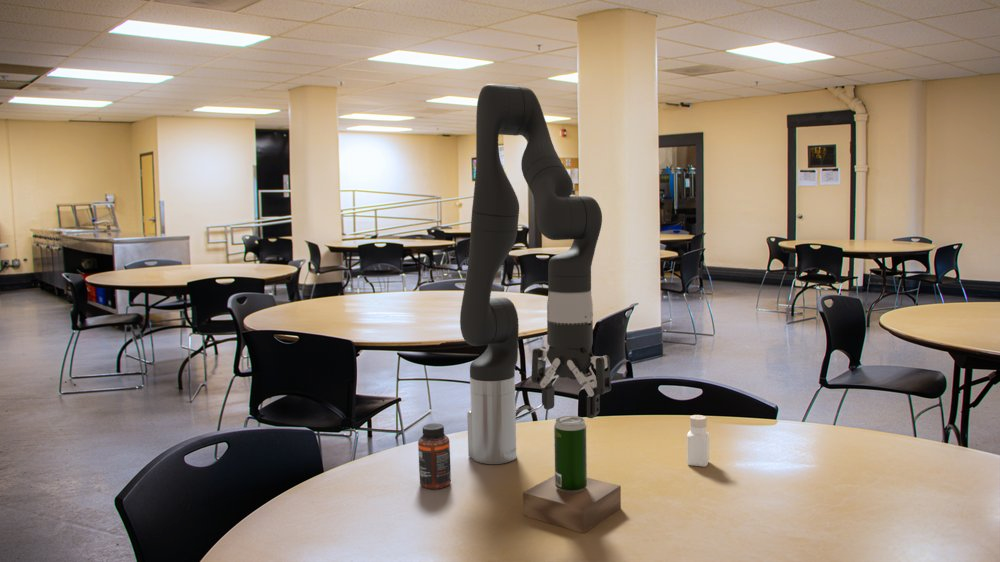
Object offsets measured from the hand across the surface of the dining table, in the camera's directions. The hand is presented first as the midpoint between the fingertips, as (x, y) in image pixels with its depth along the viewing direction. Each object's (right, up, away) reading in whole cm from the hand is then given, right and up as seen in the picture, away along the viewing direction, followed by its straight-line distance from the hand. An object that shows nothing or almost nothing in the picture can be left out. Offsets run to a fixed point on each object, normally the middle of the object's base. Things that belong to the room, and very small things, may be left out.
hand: (570, 412), depth 126 cm
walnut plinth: (+1, -17, +2) cm, 17 cm away
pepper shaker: (+28, -15, +24) cm, 39 cm away
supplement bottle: (-24, -17, +16) cm, 33 cm away
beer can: (0, -13, +2) cm, 14 cm away
